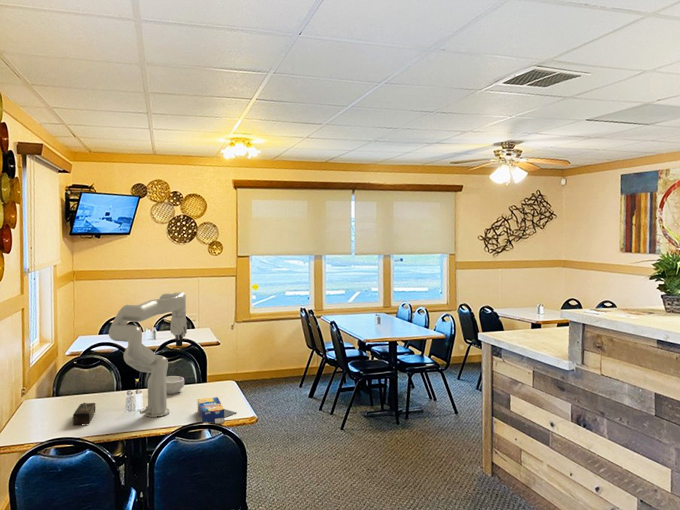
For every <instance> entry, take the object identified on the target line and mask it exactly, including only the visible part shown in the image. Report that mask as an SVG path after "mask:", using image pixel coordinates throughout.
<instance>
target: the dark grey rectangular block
mask: <svg viewBox="0 0 680 510" xmlns="http://www.w3.org/2000/svg"><path fill="white" fill-rule="evenodd" d="M94 413H95V414H96V402H83V403H80V404H79V405H78V407H77V408H76V409H75V411H74V412H73V415H72V426H73V425H78V426H83V425H82V424H89V425H90V423H91V422H90V421H92V420H93V418H94V415H95V414H94Z"/></svg>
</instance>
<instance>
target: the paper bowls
mask: <svg viewBox="0 0 680 510" xmlns="http://www.w3.org/2000/svg"><path fill="white" fill-rule="evenodd" d="M184 387H185V378H184V377H182V376H177V375H170V376H169V375H168V376H166V395H172V394H177V393H179V392H180V391H181V390H182V389H183V388H184Z"/></svg>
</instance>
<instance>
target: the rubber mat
mask: <svg viewBox="0 0 680 510" xmlns="http://www.w3.org/2000/svg"><path fill="white" fill-rule="evenodd" d="M236 413H237V412H235V411H233V410H230V409H225V408H224V419H225V418H228V417H231V416H234V415H237V414H236ZM233 414H234V415H233Z"/></svg>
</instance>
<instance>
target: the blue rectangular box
mask: <svg viewBox="0 0 680 510" xmlns="http://www.w3.org/2000/svg"><path fill="white" fill-rule="evenodd" d="M224 409H225V408H224V407H223V405H222V403H221V401H220V398H219V397H218V396H216V397H207V398H206V397H205V398H200V399H199V398H197V414H198V413H199V414H198V415H199V419H200V418H201V419H200V421H201V420H202V422H211V423H215V424H220V423H221V424H222V423H225V418H224ZM202 422H201V423H202Z"/></svg>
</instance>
